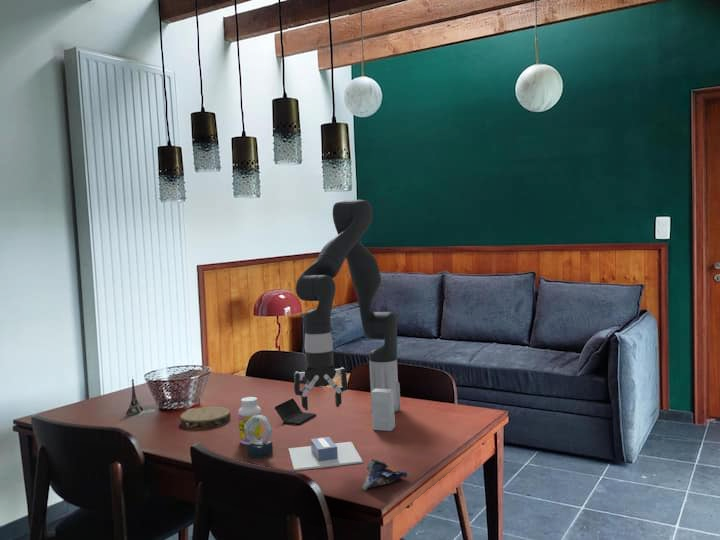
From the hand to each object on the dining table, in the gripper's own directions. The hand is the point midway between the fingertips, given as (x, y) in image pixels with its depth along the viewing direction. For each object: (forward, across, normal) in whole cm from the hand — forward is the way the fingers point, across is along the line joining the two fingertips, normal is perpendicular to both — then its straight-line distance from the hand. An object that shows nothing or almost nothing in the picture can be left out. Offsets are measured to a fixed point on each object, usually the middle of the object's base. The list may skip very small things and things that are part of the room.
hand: (322, 407), depth 173 cm
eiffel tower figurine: (+14, -58, +64) cm, 88 cm away
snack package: (+14, +11, -22) cm, 28 cm away
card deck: (+13, 0, 0) cm, 13 cm away
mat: (+13, 0, 0) cm, 13 cm away
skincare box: (+14, +21, +18) cm, 31 cm away
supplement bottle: (+14, -19, +19) cm, 30 cm away
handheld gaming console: (+14, -4, +37) cm, 40 cm away
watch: (+14, -17, +7) cm, 23 cm away
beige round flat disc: (+14, -33, +45) cm, 57 cm away
